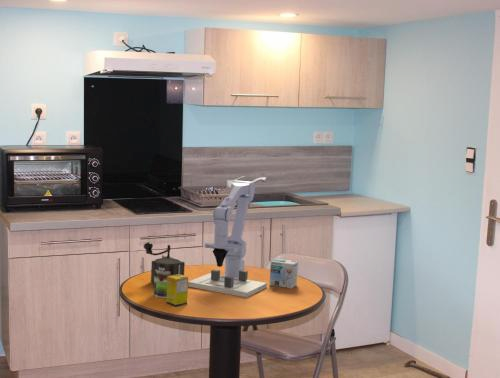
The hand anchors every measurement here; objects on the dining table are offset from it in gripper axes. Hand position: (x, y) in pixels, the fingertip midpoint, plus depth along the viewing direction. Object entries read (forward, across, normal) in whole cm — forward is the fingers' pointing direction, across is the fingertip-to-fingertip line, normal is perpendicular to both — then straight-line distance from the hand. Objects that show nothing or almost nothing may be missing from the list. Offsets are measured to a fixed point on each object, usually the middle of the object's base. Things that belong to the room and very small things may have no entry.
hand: (219, 266), depth 306 cm
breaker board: (+8, +4, 0) cm, 9 cm away
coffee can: (+9, -10, -26) cm, 29 cm away
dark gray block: (+6, -2, 0) cm, 6 cm away
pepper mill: (+9, -21, -12) cm, 26 cm away
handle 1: (+6, +8, -7) cm, 12 cm away
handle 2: (+6, +8, +6) cm, 12 cm away
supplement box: (+9, 0, -34) cm, 35 cm away
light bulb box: (+9, +22, +18) cm, 30 cm away
